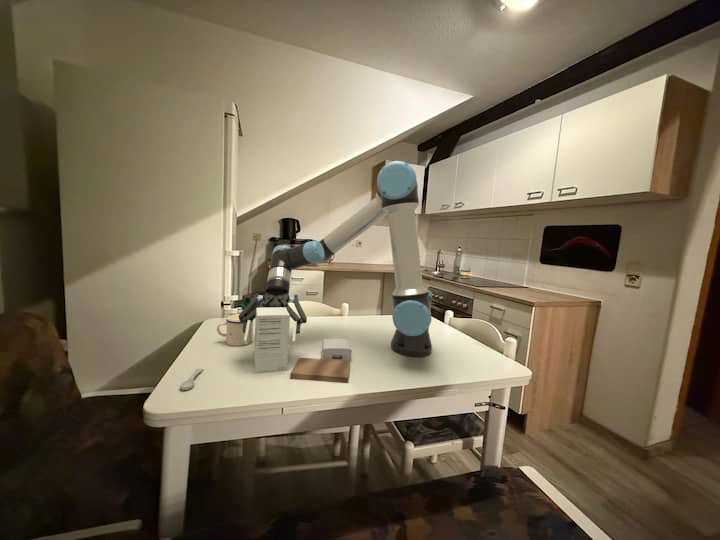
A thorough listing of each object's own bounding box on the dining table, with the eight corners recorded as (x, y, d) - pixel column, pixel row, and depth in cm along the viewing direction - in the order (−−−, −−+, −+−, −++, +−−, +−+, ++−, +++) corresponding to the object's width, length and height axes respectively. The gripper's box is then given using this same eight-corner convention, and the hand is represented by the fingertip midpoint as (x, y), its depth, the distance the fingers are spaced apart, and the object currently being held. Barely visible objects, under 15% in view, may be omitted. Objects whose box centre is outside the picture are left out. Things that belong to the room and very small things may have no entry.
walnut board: (349, 365, 91) (350, 361, 91) (347, 382, 80) (348, 377, 80) (299, 362, 91) (299, 357, 91) (290, 378, 80) (290, 373, 80)
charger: (346, 345, 109) (351, 362, 94) (321, 345, 107) (322, 362, 92) (347, 333, 108) (351, 348, 93) (322, 333, 107) (323, 348, 92)
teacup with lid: (253, 337, 110) (254, 307, 109) (252, 345, 102) (253, 313, 101) (218, 338, 106) (218, 307, 105) (214, 347, 98) (215, 314, 97)
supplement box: (253, 359, 91) (255, 307, 89) (284, 357, 94) (286, 306, 92) (254, 373, 82) (256, 315, 80) (288, 370, 85) (290, 314, 83)
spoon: (177, 393, 70) (177, 384, 70) (194, 373, 82) (195, 366, 81) (190, 392, 70) (191, 384, 70) (206, 373, 82) (206, 366, 82)
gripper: (315, 291, 103) (312, 348, 90) (241, 288, 99) (227, 347, 86) (316, 279, 97) (313, 337, 84) (237, 275, 93) (222, 336, 80)
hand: (270, 342), depth 85 cm, fingers open, 13 cm apart
